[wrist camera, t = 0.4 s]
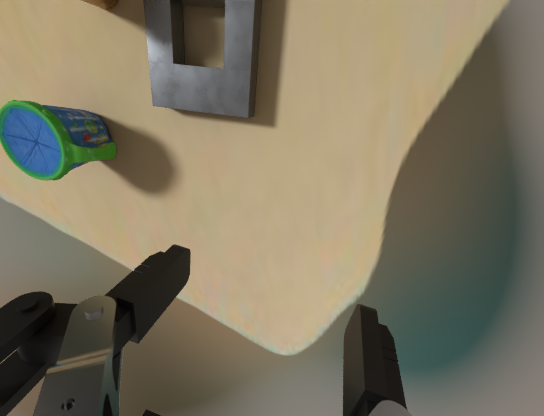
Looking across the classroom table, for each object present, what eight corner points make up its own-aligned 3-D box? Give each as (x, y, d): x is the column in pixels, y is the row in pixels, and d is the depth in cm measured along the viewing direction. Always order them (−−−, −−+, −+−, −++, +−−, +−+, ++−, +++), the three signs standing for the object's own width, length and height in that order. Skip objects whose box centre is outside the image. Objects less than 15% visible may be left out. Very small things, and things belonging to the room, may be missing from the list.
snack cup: (137, 120, 41) (81, 127, 32) (131, 178, 46) (80, 199, 37) (51, 84, 42) (-28, 80, 33) (53, 145, 46) (-16, 157, 37)
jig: (154, -52, 32) (137, -66, 29) (265, -50, 30) (258, -64, 27) (165, 105, 39) (152, 105, 36) (254, 116, 37) (248, 118, 34)
